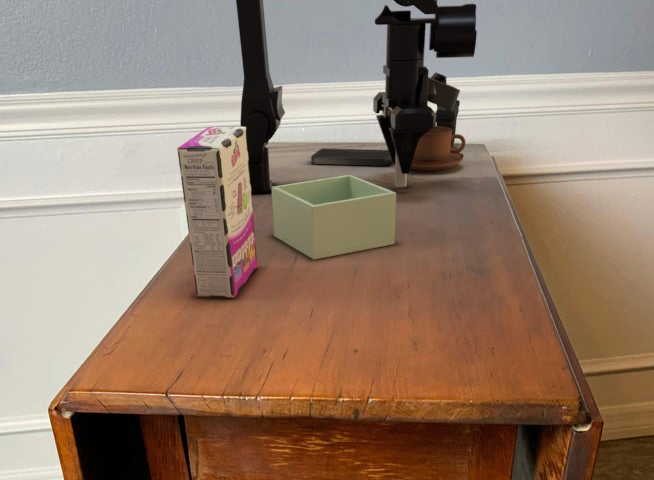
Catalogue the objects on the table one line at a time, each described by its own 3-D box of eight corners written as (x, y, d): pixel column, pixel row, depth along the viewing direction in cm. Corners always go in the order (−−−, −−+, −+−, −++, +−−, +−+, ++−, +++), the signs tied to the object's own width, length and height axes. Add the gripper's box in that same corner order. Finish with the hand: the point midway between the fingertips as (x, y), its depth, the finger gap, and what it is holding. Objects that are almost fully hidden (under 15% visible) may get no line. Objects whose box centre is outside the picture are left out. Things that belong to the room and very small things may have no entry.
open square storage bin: (274, 236, 111) (271, 186, 107) (350, 222, 115) (350, 174, 111) (313, 259, 102) (312, 206, 98) (394, 244, 106) (396, 192, 102)
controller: (457, 142, 158) (461, 86, 153) (453, 156, 149) (458, 96, 143) (436, 142, 159) (439, 86, 153) (430, 156, 149) (433, 96, 144)
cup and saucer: (443, 157, 148) (446, 121, 144) (474, 170, 139) (478, 132, 135) (384, 164, 145) (385, 127, 141) (412, 178, 136) (413, 139, 132)
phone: (389, 159, 142) (309, 156, 146) (389, 166, 143) (309, 163, 147) (398, 150, 149) (321, 148, 152) (397, 156, 149) (321, 154, 153)
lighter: (406, 186, 127) (408, 132, 123) (395, 186, 127) (397, 132, 123) (404, 176, 133) (406, 124, 128) (394, 176, 133) (396, 124, 129)
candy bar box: (220, 266, 101) (206, 125, 91) (258, 267, 100) (248, 125, 90) (193, 298, 92) (175, 145, 82) (234, 299, 91) (221, 145, 82)
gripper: (474, 63, 113) (465, 179, 122) (441, 50, 128) (435, 154, 137) (397, 66, 112) (393, 183, 121) (373, 53, 127) (371, 157, 136)
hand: (400, 168), depth 129 cm, fingers closed on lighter, 7 cm apart
